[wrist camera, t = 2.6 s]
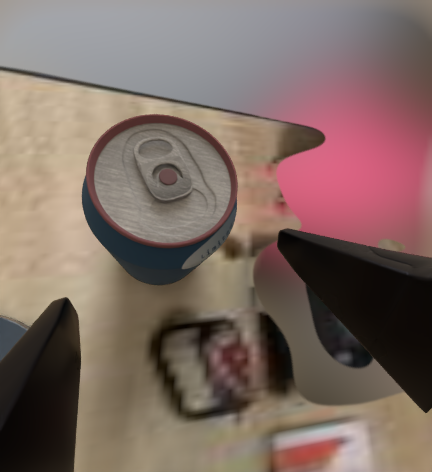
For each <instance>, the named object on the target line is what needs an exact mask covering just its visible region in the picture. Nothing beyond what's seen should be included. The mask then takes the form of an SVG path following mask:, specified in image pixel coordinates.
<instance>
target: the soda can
mask: <svg viewBox="0 0 432 472" xmlns="http://www.w3.org/2000/svg"><path fill="white" fill-rule="evenodd" d="M237 188H238V183H237V175H236V171H235V168H234V165H233V162H232V160H231V158H230V156H229V155H228V153H227V152H226V150H225V149H224V147H223V146H222V145H221V144H220V143H219V141H218V140H217V139H216V138H214V137H213V136H212V135H211V134H210V133H209V132H207V131H206V130H204V129H203V128H201V127H200V126H198V125H196V124H194V123H192V122H190V121H187V120H184V119H181V118H178V117H174V116H169V115H159V114H150V115H141V116H136V117H132V118H129V119H126V120H124V121H122V122H120V123H118V124H116V125H114V126H113V127H111V128H110V129H109V130H107V131H106V132H105V133H104V134H103V135H102V136H101V137H100V138H99V139H98V141H97V142H96V144H95V145H94V147H93V149H92V151H91V153H90V155H89V158H88V162H87V168H86V176H85V179H84V183H83V188H82V205H83V210H84V214H85V217H86V220H87V223H88V225H89V227H90V229H91V230H92V232H93V234H94V235H95V236H96V238H97V239H98V240H99V241H100V243H101V244H102V245H103V246H104V247H105V248H106V249H107V250H108V251H109V252H110V254H111V255H112V256H113V257H114V258H115V259H116V260H117V261H118V262H119V263H120V265H121V266H122V267H123V268H124V269H125V270H126V271H127V272H128V273H129V274H130V275H131V276H133V277H134V278H136V279H137V280H139V281H141V282H144V283H147V284H152V285H165V284H170V283H174V282H176V281H178V280H180V279H182V278H184V277H185V276H187V275H188V274H189V273H190V272H191V271H192V270H194V269H195V268H196V267H197V266H198V265H200V264H201V263H202V262H203V261H204V260H206V259H207V258H208V257H209V256H210V255H212V254H213V253H214V252H215V251H216V250H217V249H218V248H219V247H220V246H221V245H222V244H223V243H224V241H225V240H226V239H227V237H228V235H229V234H230V231H231V229H232V227H233V224H234V221H235V217H236V210H237Z"/></svg>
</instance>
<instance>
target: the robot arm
mask: <svg viewBox="0 0 432 472" xmlns="http://www.w3.org/2000/svg"><path fill="white" fill-rule="evenodd" d="M277 247H278V249H279V251H280V252H281V254H282V255H283V256H284V258H285V259H286V260H287V262H288V263H289V264H290V266H291V267H292V268H293V269H294V271H295V272H296V273H297V274H298V276H299V277H300V278H301V279H302V280H303V281H304V282H305V283H306V284H307V285H308V287H309V288H310V289H311V290H312V291H313V292H314V293H315V294H316V295H317V296H318V297H319V298H320V300H321V301H322V302H323V303H324V304H325V305H326V306H327V307H328V308H329V309H330V310H331V312H332V313H333V314H334V315H335V316H336V317H337V318H338V319H339V320H340V321H341V322H342V324H343V325H344V326H345V327H346V328H347V329H348V330H349V331H350V332H351V333H352V334H353V336H354V337H355V338H356V339H357V340H358V341H359V342H360V343H361V344H362V345H363V346H364V347H365V349H366V350H367V351H368V352H369V353H370V354H371V355H372V356H373V357H374V359H375V360H376V361H377V362H378V363H379V364H380V365H381V366H382V367H383V368H384V369H385V371H387V373H388V374H389V375H390V376H391V377H392V378H393V379H394V380H395V381H396V383H398V385H399V386H400V387H401V388H402V389H403V390H404V391H405V392H406V393H407V395H408V396H409V397H410V398H411V399H412V400H413V401H414V402H415V403H416V404H417V405H418V406H419V407H420V408H421V409H422V410H423V411H424V412H425V413H427V412H428V411H429V410H430V409H431V408H432V258H429V257H424V256H419V255H412V254H407V253H401V252H396V251H391V250H386V249H381V248H376V247H371V246H366V245H362V244H357V243H353V242H348V241H343V240H339V239H334V238H330V237H325V236H320V235H316V234H311V233H306V232H302V231H297V230H293V229H283V230H280V231H279V234H278V242H277ZM80 369H81V349H80V334H79V319H78V314H77V312H76V310H75V308H74V307H73V305H72V303H71V302H70V300H69V299H68V298H66V297H64V298H61V299H58V300H55V301H53V302H52V303H51V304H50V305H49V306H48V307H47V308H46V310H45V311H44V312H43V313H42V314H41V315H40V316H39V318H38V319H37V320H36V321H35V322H34V323H33V325H32V326H31V327H30V328H29V329H28V330H27V331H26V333H25V334H24V335H23V336H22V337H21V338H20V339H19V341H18V342H17V343H16V344H15V345H14V346H13V347H12V349H11V350H10V351H9V352H8V353H7V354H6V355H5V357H4V358H3V359H2V360H1V361H0V472H74V458H75V443H76V428H77V413H78V399H79V384H80Z"/></svg>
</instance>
